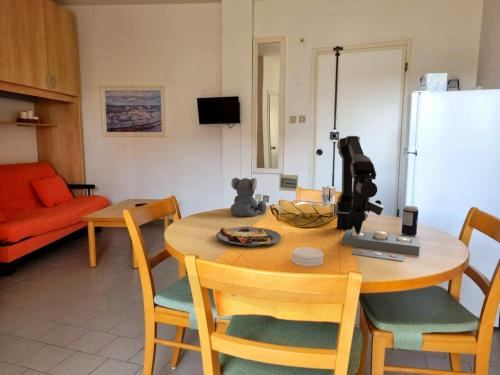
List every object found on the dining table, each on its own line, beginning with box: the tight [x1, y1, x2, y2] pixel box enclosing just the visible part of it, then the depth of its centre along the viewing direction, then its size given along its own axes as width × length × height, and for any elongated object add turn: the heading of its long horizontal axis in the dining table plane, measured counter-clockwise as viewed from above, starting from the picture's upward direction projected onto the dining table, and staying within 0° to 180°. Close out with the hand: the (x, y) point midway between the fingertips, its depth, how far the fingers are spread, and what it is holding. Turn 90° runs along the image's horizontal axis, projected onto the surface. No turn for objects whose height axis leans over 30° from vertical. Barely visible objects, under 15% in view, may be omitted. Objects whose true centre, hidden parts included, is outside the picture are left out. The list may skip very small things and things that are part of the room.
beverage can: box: [400, 205, 419, 237], centre depth 143 cm, size 6×6×12 cm
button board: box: [341, 229, 421, 256], centre depth 129 cm, size 26×12×3 cm, turn 66°
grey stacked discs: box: [291, 246, 324, 268], centre depth 111 cm, size 10×10×4 cm
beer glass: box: [320, 185, 336, 206], centre depth 178 cm, size 7×7×15 cm
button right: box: [397, 237, 410, 243], centre depth 126 cm, size 4×4×3 cm
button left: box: [352, 232, 364, 237], centre depth 132 cm, size 4×4×3 cm
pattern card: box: [351, 247, 404, 262], centre depth 119 cm, size 16×7×1 cm, turn 66°
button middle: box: [373, 230, 388, 240], centre depth 129 cm, size 4×4×3 cm
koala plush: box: [229, 177, 267, 218], centre depth 179 cm, size 17×18×20 cm
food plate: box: [215, 226, 282, 248], centre depth 135 cm, size 25×23×4 cm
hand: (358, 233), depth 132 cm, fingers closed, pressing on button left
